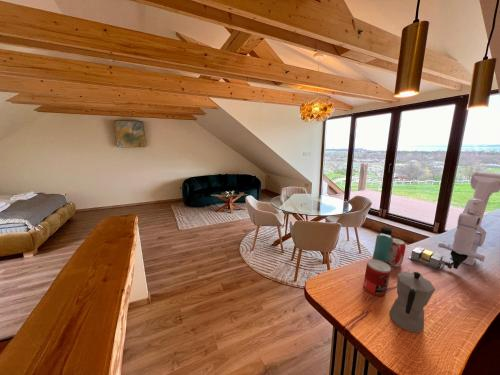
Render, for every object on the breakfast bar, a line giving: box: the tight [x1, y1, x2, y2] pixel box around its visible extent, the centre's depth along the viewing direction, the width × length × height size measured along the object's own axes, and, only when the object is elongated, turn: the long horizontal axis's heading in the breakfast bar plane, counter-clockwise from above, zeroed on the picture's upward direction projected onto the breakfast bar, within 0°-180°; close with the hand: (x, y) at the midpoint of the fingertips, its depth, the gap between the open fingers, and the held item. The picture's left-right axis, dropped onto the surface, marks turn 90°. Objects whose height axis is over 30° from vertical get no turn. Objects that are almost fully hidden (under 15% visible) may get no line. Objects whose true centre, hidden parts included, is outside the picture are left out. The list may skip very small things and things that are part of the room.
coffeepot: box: [389, 271, 436, 334], centre depth 66 cm, size 15×9×18 cm, turn 137°
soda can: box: [388, 237, 406, 268], centre depth 99 cm, size 7×7×12 cm
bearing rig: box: [408, 245, 444, 271], centre depth 103 cm, size 12×8×5 cm, turn 37°
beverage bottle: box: [372, 226, 393, 264], centre depth 94 cm, size 6×7×20 cm
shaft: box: [420, 253, 453, 270], centre depth 101 cm, size 14×3×3 cm, turn 37°
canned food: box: [363, 259, 392, 297], centre depth 82 cm, size 8×8×11 cm
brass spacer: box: [421, 249, 434, 262], centre depth 103 cm, size 3×5×5 cm, turn 127°
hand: (455, 267), depth 95 cm, fingers closed
